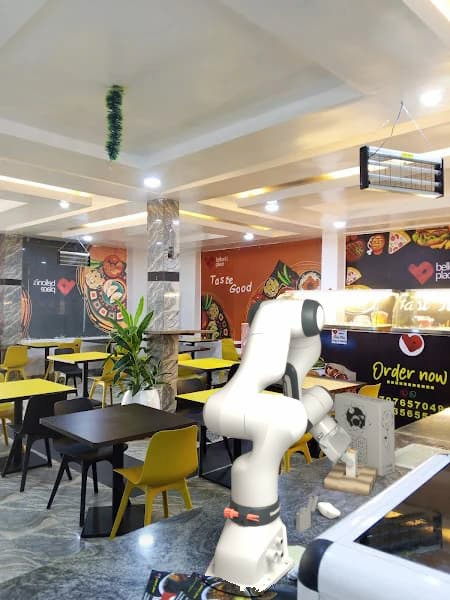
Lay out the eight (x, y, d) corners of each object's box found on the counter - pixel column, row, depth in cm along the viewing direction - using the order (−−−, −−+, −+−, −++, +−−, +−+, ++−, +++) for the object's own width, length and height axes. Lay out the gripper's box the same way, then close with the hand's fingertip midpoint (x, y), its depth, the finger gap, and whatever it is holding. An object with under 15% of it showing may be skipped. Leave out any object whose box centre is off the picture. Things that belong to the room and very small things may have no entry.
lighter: (300, 531, 124) (299, 501, 124) (295, 529, 126) (295, 499, 126) (319, 524, 128) (318, 494, 128) (314, 521, 130) (313, 492, 130)
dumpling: (313, 516, 133) (313, 502, 133) (323, 510, 137) (323, 496, 137) (334, 524, 128) (334, 509, 128) (344, 517, 132) (344, 503, 132)
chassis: (369, 496, 146) (369, 486, 146) (324, 488, 152) (324, 479, 152) (377, 476, 162) (377, 467, 162) (336, 470, 169) (336, 462, 169)
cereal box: (395, 472, 166) (394, 401, 166) (380, 476, 162) (379, 404, 162) (349, 455, 184) (348, 391, 184) (335, 459, 180) (334, 394, 180)
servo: (355, 478, 155) (354, 451, 155) (346, 477, 156) (345, 450, 156) (357, 474, 159) (357, 448, 159) (348, 473, 160) (348, 447, 160)
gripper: (322, 431, 151) (354, 466, 147) (337, 417, 169) (365, 447, 165) (309, 444, 153) (340, 478, 149) (324, 428, 171) (352, 458, 167)
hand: (353, 462), depth 157 cm, fingers closed on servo, 4 cm apart
